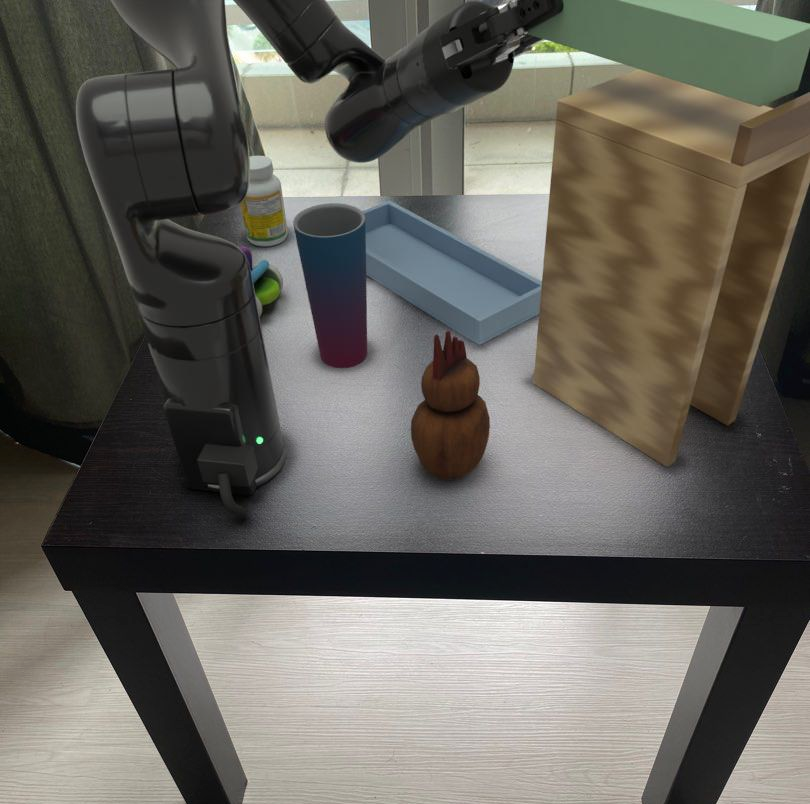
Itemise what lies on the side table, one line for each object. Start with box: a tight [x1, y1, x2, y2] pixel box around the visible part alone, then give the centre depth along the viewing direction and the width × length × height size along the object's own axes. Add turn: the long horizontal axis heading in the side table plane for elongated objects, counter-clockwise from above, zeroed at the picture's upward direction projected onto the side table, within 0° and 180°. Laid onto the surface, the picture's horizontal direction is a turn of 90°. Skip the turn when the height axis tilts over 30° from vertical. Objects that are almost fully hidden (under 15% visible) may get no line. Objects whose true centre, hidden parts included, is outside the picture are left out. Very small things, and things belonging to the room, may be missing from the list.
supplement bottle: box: [240, 155, 289, 247], centre depth 105 cm, size 5×5×10 cm
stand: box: [532, 69, 810, 468], centre depth 72 cm, size 17×10×30 cm, turn 39°
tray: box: [361, 200, 542, 346], centre depth 99 cm, size 28×10×3 cm, turn 39°
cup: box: [292, 202, 368, 369], centre depth 85 cm, size 7×7×15 cm
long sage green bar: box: [527, 0, 810, 107], centre depth 62 cm, size 24×4×4 cm, turn 39°
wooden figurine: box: [410, 330, 491, 481], centre depth 72 cm, size 7×6×15 cm
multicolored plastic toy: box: [238, 245, 284, 317], centre depth 95 cm, size 8×10×7 cm
